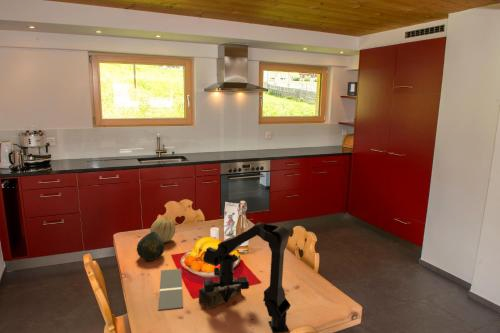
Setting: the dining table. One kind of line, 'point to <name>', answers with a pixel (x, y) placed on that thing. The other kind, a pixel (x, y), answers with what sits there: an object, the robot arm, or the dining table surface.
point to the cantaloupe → (163, 229)
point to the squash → (150, 246)
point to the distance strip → (170, 290)
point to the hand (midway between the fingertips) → (225, 302)
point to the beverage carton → (215, 296)
